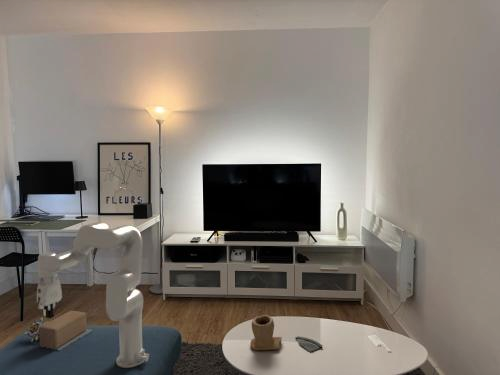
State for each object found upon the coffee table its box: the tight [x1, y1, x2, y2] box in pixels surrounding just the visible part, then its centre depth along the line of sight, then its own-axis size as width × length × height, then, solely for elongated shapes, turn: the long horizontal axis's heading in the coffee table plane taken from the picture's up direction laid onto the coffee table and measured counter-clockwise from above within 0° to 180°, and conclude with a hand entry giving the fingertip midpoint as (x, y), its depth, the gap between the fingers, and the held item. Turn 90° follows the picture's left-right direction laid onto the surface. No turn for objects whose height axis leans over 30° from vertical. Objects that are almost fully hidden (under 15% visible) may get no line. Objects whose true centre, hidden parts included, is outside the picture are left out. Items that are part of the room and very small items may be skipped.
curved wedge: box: [294, 336, 323, 353], centre depth 163 cm, size 8×14×2 cm, turn 31°
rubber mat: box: [54, 328, 94, 352], centre depth 170 cm, size 12×20×1 cm, turn 161°
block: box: [38, 310, 87, 350], centre depth 169 cm, size 10×10×20 cm
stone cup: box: [250, 314, 283, 351], centre depth 160 cm, size 15×12×15 cm
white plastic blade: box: [367, 334, 392, 353], centre depth 163 cm, size 5×15×1 cm, turn 5°
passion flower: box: [24, 317, 49, 343], centre depth 171 cm, size 11×11×12 cm
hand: (50, 317), depth 160 cm, fingers closed
